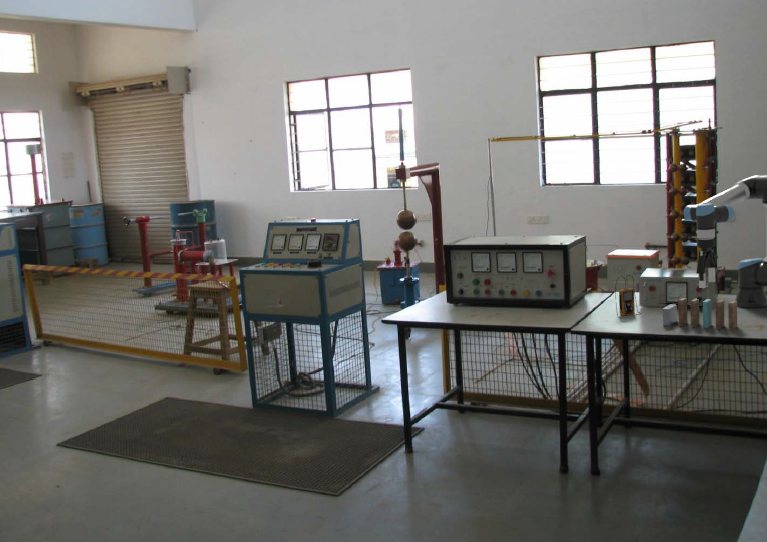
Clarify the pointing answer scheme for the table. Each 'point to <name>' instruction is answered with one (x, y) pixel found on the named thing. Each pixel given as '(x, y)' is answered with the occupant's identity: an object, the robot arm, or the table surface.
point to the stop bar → (669, 315)
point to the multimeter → (626, 301)
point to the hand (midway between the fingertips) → (707, 284)
